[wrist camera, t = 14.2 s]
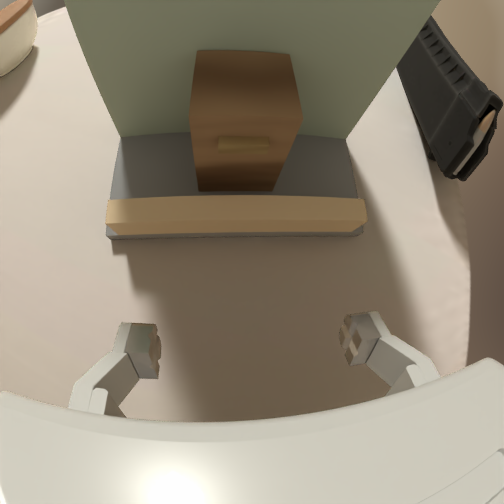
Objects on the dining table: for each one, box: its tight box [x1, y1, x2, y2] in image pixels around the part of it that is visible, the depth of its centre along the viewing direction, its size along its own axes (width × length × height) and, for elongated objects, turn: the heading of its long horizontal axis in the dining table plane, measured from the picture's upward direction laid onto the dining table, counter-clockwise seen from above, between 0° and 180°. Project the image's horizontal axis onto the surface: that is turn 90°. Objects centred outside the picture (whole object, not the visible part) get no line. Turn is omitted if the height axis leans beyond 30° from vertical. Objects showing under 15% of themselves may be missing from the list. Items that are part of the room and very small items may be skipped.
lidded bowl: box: [0, 0, 38, 77], centre depth 16 cm, size 13×13×11 cm
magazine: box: [396, 15, 503, 181], centre depth 21 cm, size 17×3×30 cm
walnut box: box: [189, 50, 303, 192], centre depth 15 cm, size 6×5×8 cm
